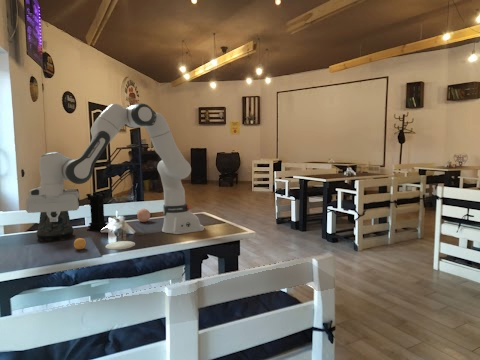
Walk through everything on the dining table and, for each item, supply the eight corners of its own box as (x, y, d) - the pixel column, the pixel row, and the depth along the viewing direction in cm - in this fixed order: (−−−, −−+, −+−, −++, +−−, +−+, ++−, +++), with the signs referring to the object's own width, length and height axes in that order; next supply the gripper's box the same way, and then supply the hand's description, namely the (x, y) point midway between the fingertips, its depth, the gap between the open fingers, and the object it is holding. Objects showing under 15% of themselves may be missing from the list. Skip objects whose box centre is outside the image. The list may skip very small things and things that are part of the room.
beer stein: (44, 243, 165) (41, 191, 163) (29, 237, 178) (26, 188, 175) (79, 236, 178) (76, 187, 175) (63, 230, 190) (60, 185, 188)
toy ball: (145, 219, 216) (144, 207, 215) (153, 221, 212) (153, 208, 211) (134, 222, 210) (133, 209, 209) (142, 223, 205) (142, 210, 204)
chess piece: (100, 231, 189) (98, 194, 187) (87, 230, 190) (85, 194, 188) (108, 227, 196) (107, 192, 194) (96, 227, 198) (94, 192, 196)
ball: (86, 247, 159) (86, 236, 158) (85, 250, 154) (85, 239, 154) (74, 248, 157) (74, 237, 157) (73, 251, 153) (72, 240, 152)
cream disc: (134, 240, 169) (134, 240, 169) (135, 247, 157) (135, 247, 157) (106, 243, 165) (106, 242, 165) (104, 250, 153) (104, 250, 153)
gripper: (79, 188, 156) (81, 218, 158) (27, 190, 150) (29, 221, 151) (77, 189, 150) (79, 221, 152) (23, 191, 144) (25, 224, 145)
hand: (54, 221), depth 151 cm, fingers closed
